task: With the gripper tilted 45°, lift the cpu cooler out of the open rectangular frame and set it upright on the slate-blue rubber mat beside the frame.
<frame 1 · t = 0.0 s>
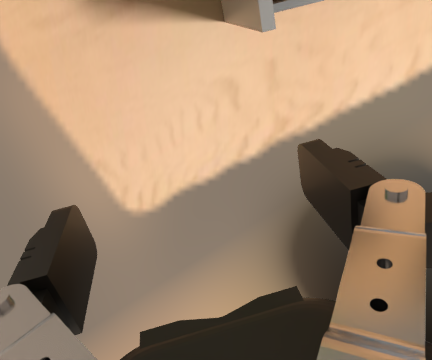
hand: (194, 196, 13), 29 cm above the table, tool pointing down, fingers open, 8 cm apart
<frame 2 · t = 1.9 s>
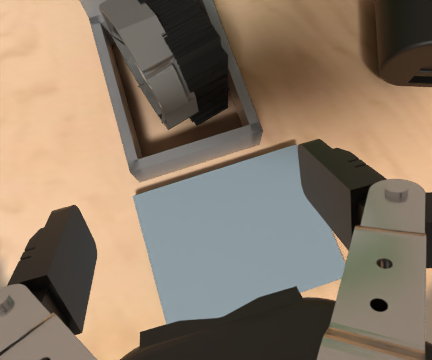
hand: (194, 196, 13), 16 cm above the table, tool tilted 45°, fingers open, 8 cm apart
rubber mat: (236, 235, 28), on the table
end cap: (400, 44, 32), on the table
cpu cooler: (176, 91, 32), resting in open rectangular frame
open rectangular frame: (176, 89, 32), on the table
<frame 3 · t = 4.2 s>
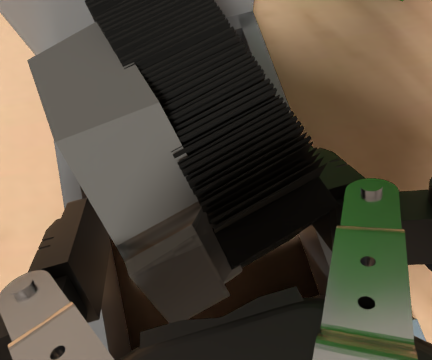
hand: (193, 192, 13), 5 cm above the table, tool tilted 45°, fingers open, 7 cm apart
cpu cooler: (192, 192, 18), resting in open rectangular frame, touching gripper
open rectangular frame: (191, 190, 18), on the table
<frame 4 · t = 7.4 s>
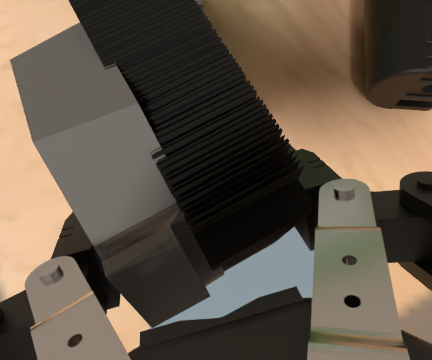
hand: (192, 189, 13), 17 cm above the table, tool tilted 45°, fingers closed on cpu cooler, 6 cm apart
rubber mat: (223, 249, 29), on the table
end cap: (389, 66, 33), on the table
cpu cooler: (181, 192, 18), point 12 cm above the table, touching gripper
when the fingers open (6 cm above the table, at t = 10.0 s): cpu cooler stays where it is, resting on rubber mat.
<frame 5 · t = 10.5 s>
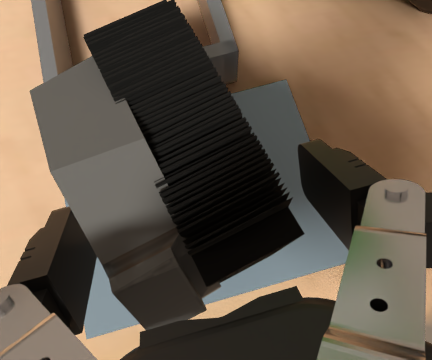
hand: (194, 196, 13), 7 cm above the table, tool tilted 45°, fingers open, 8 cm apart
rubber mat: (197, 199, 20), on the table
cpu cooler: (184, 204, 19), point 1 cm above the table, touching rubber mat
open rectangular frame: (131, 10, 24), on the table
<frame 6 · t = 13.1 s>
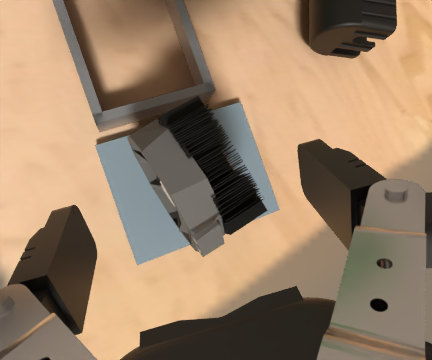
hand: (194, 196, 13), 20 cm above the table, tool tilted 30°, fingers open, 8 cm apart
rubber mat: (190, 179, 33), on the table
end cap: (325, 16, 38), on the table
cpu cooler: (184, 184, 32), point 1 cm above the table, touching rubber mat
open rectangular frame: (130, 42, 33), on the table
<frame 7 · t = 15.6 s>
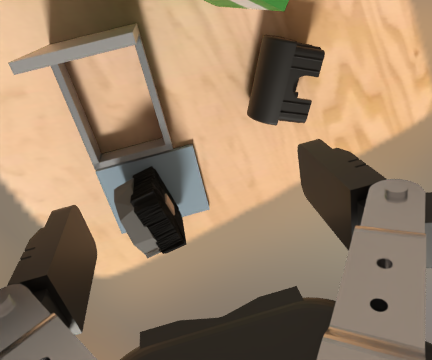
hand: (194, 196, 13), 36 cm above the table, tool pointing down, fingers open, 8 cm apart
rubber mat: (155, 189, 52), on the table
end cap: (272, 75, 48), on the table
cpu cooler: (151, 193, 52), point 1 cm above the table, touching rubber mat
open rectangular frame: (117, 100, 46), on the table
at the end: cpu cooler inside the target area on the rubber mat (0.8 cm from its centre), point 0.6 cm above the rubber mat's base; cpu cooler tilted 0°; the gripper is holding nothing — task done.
